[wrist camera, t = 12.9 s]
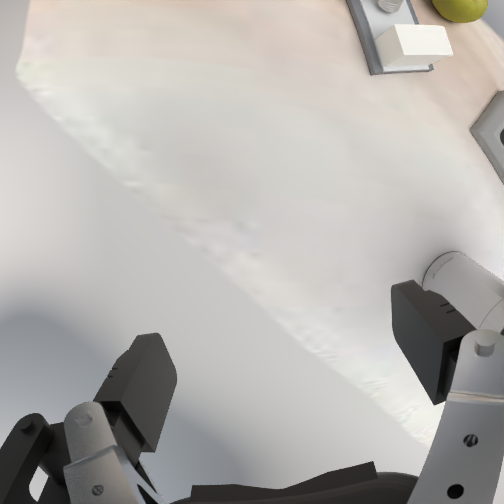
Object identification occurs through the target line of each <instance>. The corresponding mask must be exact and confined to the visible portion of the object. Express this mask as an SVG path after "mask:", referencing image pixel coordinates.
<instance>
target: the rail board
mask: <svg viewBox="0 0 504 504" xmlns="http://www.w3.org/2000/svg"><path fill="white" fill-rule="evenodd" d="M346 1H347V4H348V6H349V9H350V12H351V14H352V17H353V20H354V23H355V26H356V28H357V31H358V34H359V37H360V40H361V43H362V47H363V50H364V53H365V56H366V59H367V63H368V66H369V70H370V73H371V75H380V74H393V73H410V72H429V71H432V70H434V69H433V65H432V64H430V65H421V66H396V67H383V65H382V62H381V58H380V55H379V52H378V48H377V45H376V42H375V40H376V39H377V38H378V37H379V36H381V35H382V34H383V33H384V32H385V31H386V30H388V29H389V28H390V27H391V26H392V25H394V24H414V25H419V22H418V20H417V17H416V14H415V12H414V9H413V7H412V4H411V2H410V0H403V2H402V4H401V6H400V8H399V11H398V12H395V13H391V12H387V11H385V10H383V9H382V8H381V7H380V6H379V5H378V0H346Z"/></svg>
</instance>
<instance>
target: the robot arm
mask: <svg viewBox="0 0 504 504" xmlns="http://www.w3.org/2000/svg"><path fill="white" fill-rule="evenodd" d="M391 303H392V328H393V333H394V337H395V340H396V342H397V344H398V345H399V347H400V348H401V350H402V352H403V353H404V355H405V357H406V358H407V360H408V362H409V363H410V365H411V367H412V368H413V370H414V372H415V373H416V375H417V377H418V378H419V380H420V382H421V384H422V385H423V387H424V389H425V391H426V392H427V394H428V396H429V398H430V399H431V401H432V403H433V405H437V404H439V403H442V402H444V401H446V403H445V407H444V410H443V413H442V416H441V420H440V423H439V426H438V429H437V432H436V435H435V437H434V440H433V443H432V446H431V448H430V451H429V454H428V456H427V459H426V461H425V464H424V466H423V469H422V471H421V474H420V476H419V477H417V476H414V475H409V474H405V473H397V472H376V469H375V466H374V462H373V461H372V462H368V463H364V464H360V465H356V466H352V467H348V468H344V469H339V470H335V471H330V472H327V473H324V474H322V475H320V476H317V477H314V478H312V479H310V480H307V481H304V482H301V483H299V484H296V485H293V486H290V487H288V488H284V489H268V488H259V487H251V486H243V485H236V484H229V485H193V486H192V491H191V496H190V497H188V498H184V499H181V500H178V501H175V502H173V503H170V504H492V503H493V499H494V495H495V492H496V488H497V484H498V480H499V475H500V471H501V466H502V461H503V456H504V281H503V280H501V279H500V278H498V277H497V276H495V275H494V274H493V273H491V272H490V271H488V270H487V269H485V268H484V267H482V266H481V265H479V264H478V263H476V262H475V261H473V260H471V259H470V258H468V257H467V256H465V255H463V254H462V253H459V252H449V253H446V254H444V255H442V256H440V257H439V258H438V259H437V260H435V261H434V263H433V264H432V265H431V266H430V268H429V269H428V271H427V273H426V275H425V277H424V281H423V285H422V288H421V287H420V286H419V285H418V284H417V283H416V282H415V281H414V280H410V281H406V282H402V283H399V284H395V285H392V287H391ZM176 384H177V373H176V369H175V366H174V364H173V362H172V360H171V358H170V355H169V353H168V351H167V348H166V346H165V344H164V342H163V339H162V337H161V335H160V334H159V333H151V334H144V335H138V336H137V337H136V338H135V340H134V341H133V343H132V345H131V347H130V348H129V350H127V351H126V352H125V353H124V354H122V355H121V356H120V357H119V358H118V359H117V360H116V362H115V364H114V365H113V367H112V370H110V372H109V374H108V378H106V379H105V381H104V382H103V384H102V386H101V387H100V389H99V391H98V393H97V394H96V396H95V398H94V400H93V401H92V402H84V403H82V404H79V405H77V406H75V407H74V408H73V409H71V410H70V411H69V412H68V414H67V415H66V417H65V419H64V422H61V423H56V424H51V425H49V424H48V422H47V421H46V420H45V419H44V417H43V416H42V415H41V414H39V413H33V414H29V415H27V416H25V417H23V418H22V419H20V420H19V421H18V422H17V423H16V425H15V426H14V428H13V430H12V431H11V432H10V434H9V436H8V437H7V439H6V441H5V442H4V444H3V445H2V447H1V449H0V504H167V503H166V502H165V500H164V499H163V497H162V495H161V494H160V492H159V490H158V489H157V487H156V485H155V484H154V482H153V480H152V479H151V477H150V475H149V473H148V471H147V470H146V468H145V466H144V465H143V463H142V461H141V460H140V459H139V457H140V454H141V452H155V451H156V447H157V444H158V441H159V438H160V434H161V431H162V428H163V425H164V421H165V418H166V415H167V412H168V409H169V406H170V403H171V399H172V396H173V393H174V390H175V386H176ZM38 466H39V467H40V468H41V469H42V470H43V471H44V472H45V473H46V474H47V475H48V476H49V477H48V479H47V482H46V484H45V486H44V488H43V491H42V493H41V496H40V498H39V500H38V502H37V501H36V500H34V499H33V497H32V496H31V494H30V491H29V484H30V482H31V480H32V478H33V475H34V473H35V471H36V469H37V467H38Z"/></svg>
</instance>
